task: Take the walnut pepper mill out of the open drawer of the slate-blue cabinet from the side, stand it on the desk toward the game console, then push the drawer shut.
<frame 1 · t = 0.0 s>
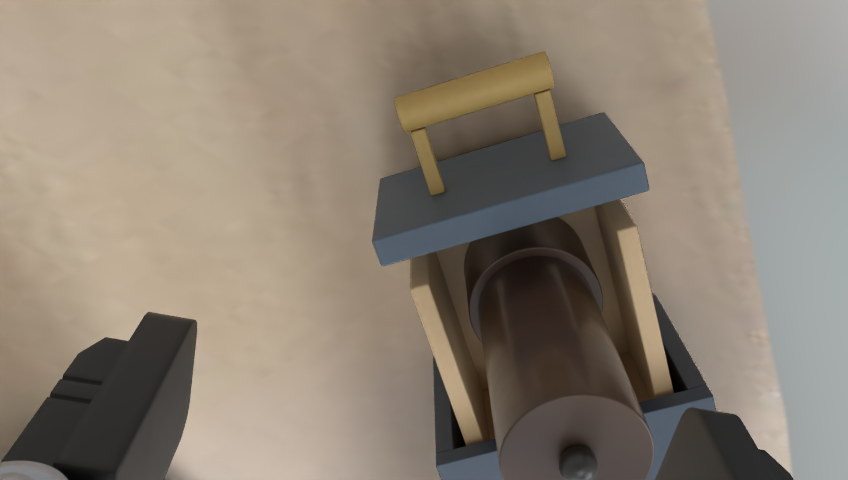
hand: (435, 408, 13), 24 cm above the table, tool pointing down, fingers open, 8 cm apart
pepper mill: (524, 265, 37), point 2 cm above the table, touching drawer
cabinet: (572, 428, 43), on the table
drawer: (522, 258, 34), point 4 cm above the table, slide at 9.0 cm, touching pepper mill
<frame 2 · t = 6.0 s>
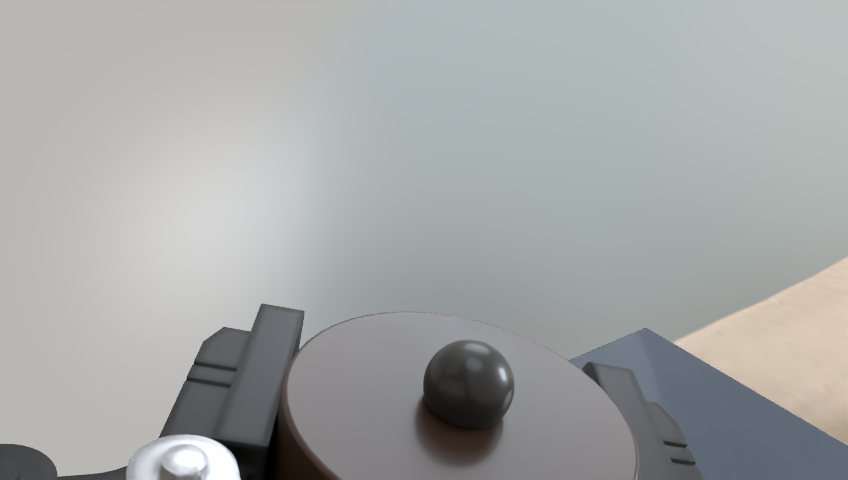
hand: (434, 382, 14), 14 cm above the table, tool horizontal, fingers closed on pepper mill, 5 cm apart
when the fingers open (12 cm above the table, at t = 16.3 s): pepper mill stays where it is, on the table.
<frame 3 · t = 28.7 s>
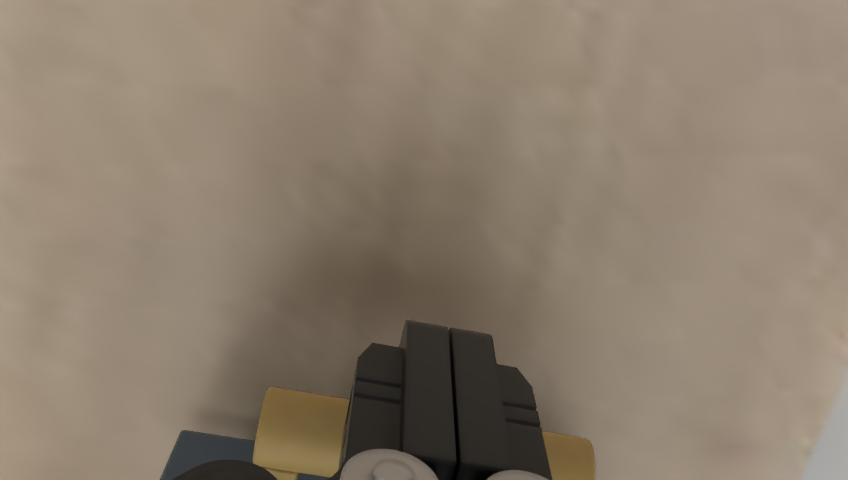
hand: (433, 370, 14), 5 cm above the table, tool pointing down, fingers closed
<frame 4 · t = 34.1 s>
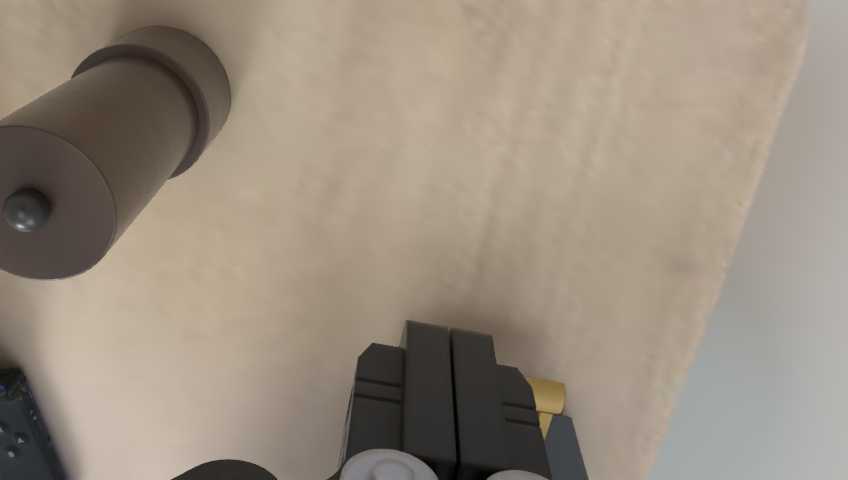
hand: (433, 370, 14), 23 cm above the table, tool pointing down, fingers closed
pepper mill: (166, 91, 35), on the table
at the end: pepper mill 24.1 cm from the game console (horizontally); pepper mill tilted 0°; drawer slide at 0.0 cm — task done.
